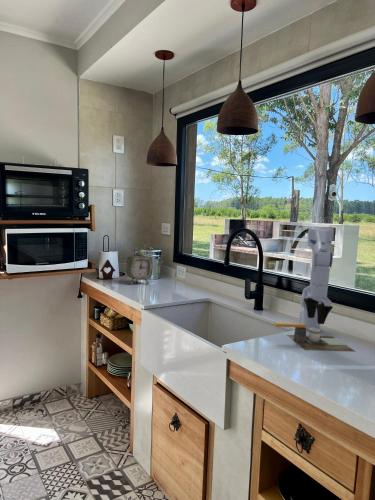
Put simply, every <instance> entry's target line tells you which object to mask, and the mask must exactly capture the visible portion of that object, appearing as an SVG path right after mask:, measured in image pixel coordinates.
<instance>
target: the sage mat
mask: <svg viewBox="0 0 375 500" xmlns="http://www.w3.org/2000/svg"><path fill="white" fill-rule="evenodd" d="M320 339H321V340H322V341H324V342H325V343H327V344H328V345H338V346H348V344H346V343H345V342H343V341H342V340H340V339H339V338H336V337H334V338H320Z"/></svg>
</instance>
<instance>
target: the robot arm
mask: <svg viewBox="0 0 375 500" xmlns="http://www.w3.org/2000/svg"><path fill="white" fill-rule="evenodd" d="M307 231H308V233H307V246H308V247H310V249H311V250H312V251H311V252H312V257H311V268H310V282H309V285H308V286H306V287H304V288H303V290H302V293H301V301H300V307H301V309H300V311H299V317H298V323H304V324H306V325H307V326H306V331H309V328H317V329H320V330H321V325H324V324H325V322H326V320H327V318H328V315H329V314H330V312H331V311H332V310H333V307H334V306H332V300H330V299H329V297H328V290H329V282H330V272H331V268H332V266H333V260H334V254H333V251H331V246H332V243H333V240H334V232H335V230H334V227H333V226H332V227H327V226H318V225H317V226H314V225H309V227H308V230H307Z"/></svg>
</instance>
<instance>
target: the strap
mask: <svg viewBox="0 0 375 500" xmlns="http://www.w3.org/2000/svg"><path fill="white" fill-rule="evenodd" d="M306 326H307V325H306V324H304V323H299V322H278V321H277V322H274V327H278V328H279V327H280V328H295V327H300V328H306Z"/></svg>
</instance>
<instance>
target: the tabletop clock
mask: <svg viewBox="0 0 375 500" xmlns="http://www.w3.org/2000/svg"><path fill="white" fill-rule="evenodd" d="M139 245H140V246H144V248H141V247H140V248H139V249H138V248H137V246H139ZM146 246H147V245H145V244H144V243H137V244H135V246H134V248H135V250H136V253H135V254H130V255H128V256H127V260H126V265H125V267H126V269H125V270H126V271H125V272H126V276H127V277H129V278H130V279H131V281H130V282H129V284H130V285H131V286H132V285H133V281H134V280H135V281H134V282H135V283H136V284H138V283H139V280H144V281H145V282H146V284H147V285H149V284H150V282H149V281H148V279H150V278H152V274H153V268H154V267H153V266H154V264H153V263H154V262H153V258H152V257H150V256H147V255H145V252H143V251H145V250H146V248H147V247H146Z"/></svg>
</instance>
